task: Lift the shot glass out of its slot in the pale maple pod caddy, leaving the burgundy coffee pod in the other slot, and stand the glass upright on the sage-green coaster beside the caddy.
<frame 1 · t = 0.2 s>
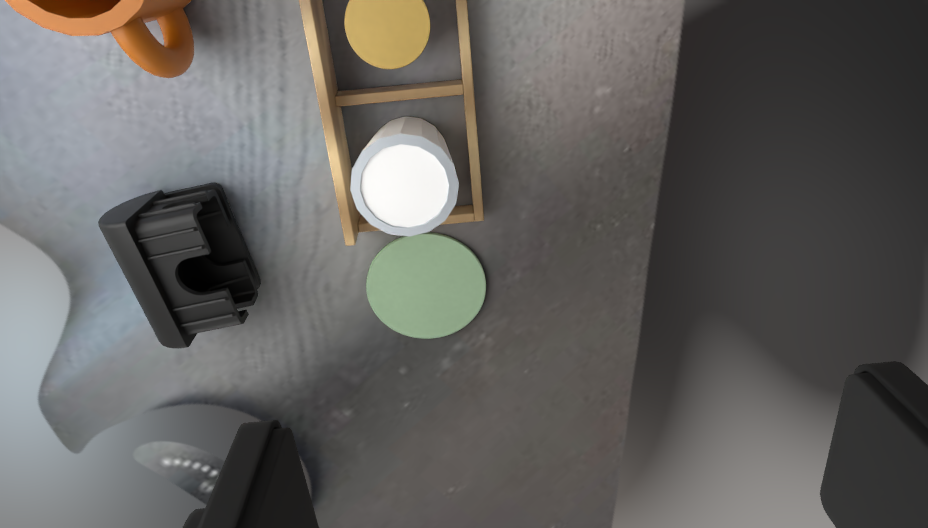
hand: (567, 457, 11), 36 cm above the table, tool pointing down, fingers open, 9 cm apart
pod caddy: (400, 90, 44), on the table
end cap: (199, 243, 48), on the table
coffee pod: (391, 18, 41), resting in pod caddy
shot glass: (409, 153, 46), resting in pod caddy
coaster: (426, 286, 51), on the table
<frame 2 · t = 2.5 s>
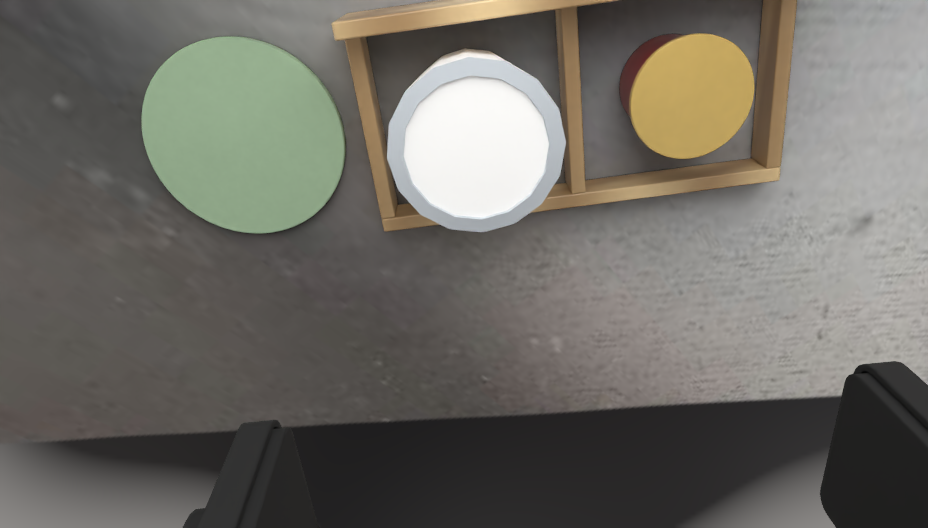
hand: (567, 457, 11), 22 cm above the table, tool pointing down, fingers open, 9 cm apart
pod caddy: (567, 96, 30), on the table
coffee pod: (665, 82, 30), resting in pod caddy
shot glass: (470, 108, 30), resting in pod caddy
coaster: (246, 140, 31), on the table
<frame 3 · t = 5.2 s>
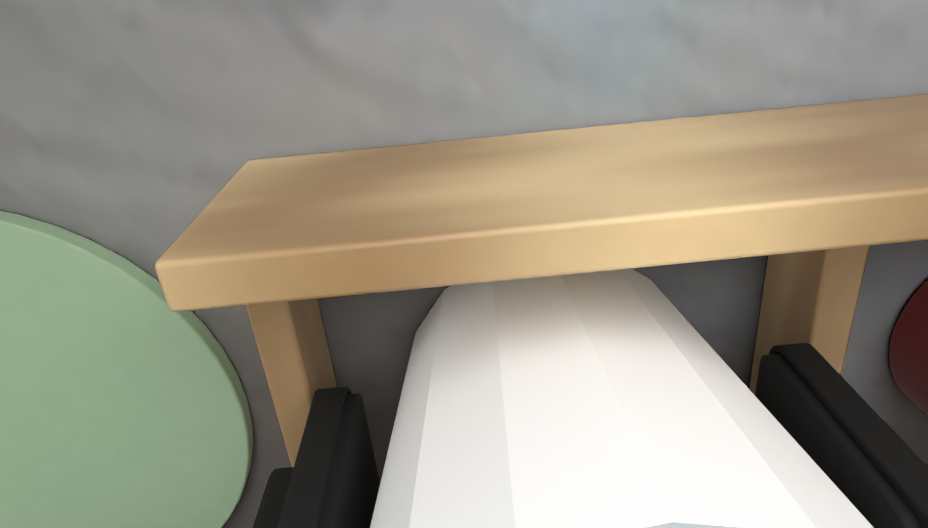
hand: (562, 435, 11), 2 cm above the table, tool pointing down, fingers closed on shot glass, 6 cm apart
pod caddy: (770, 347, 13), on the table
shot glass: (543, 363, 13), resting in pod caddy, touching gripper
coaster: (18, 419, 13), on the table
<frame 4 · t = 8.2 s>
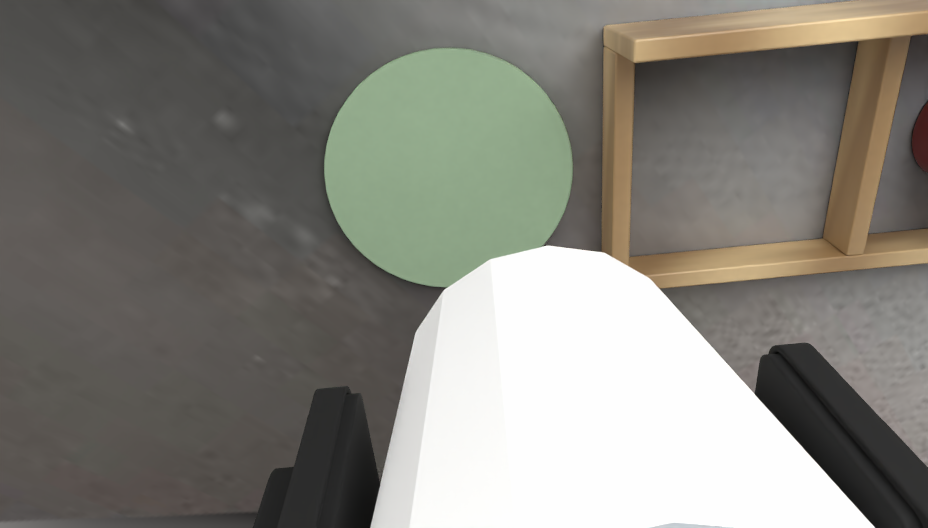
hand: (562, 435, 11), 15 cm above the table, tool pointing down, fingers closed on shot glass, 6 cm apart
pod caddy: (849, 136, 24), on the table
shot glass: (544, 363, 13), point 13 cm above the table, touching gripper
coaster: (449, 175, 25), on the table
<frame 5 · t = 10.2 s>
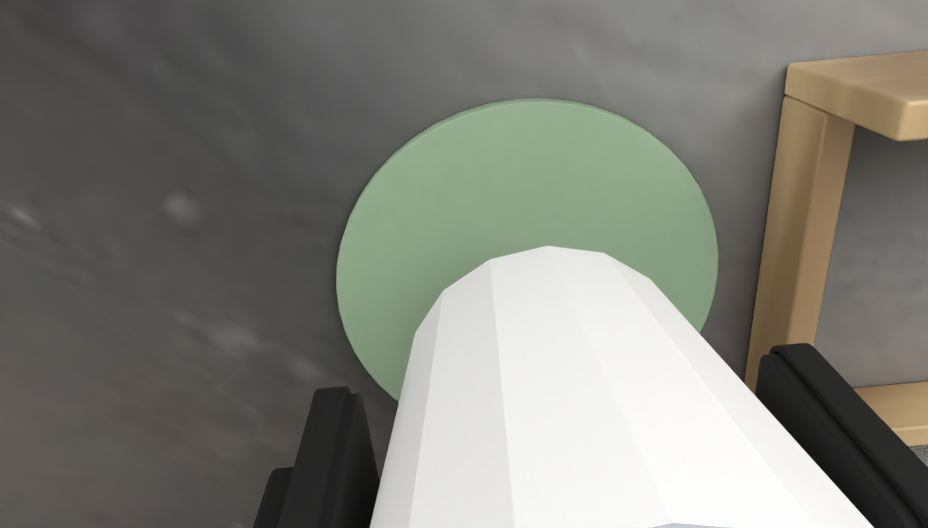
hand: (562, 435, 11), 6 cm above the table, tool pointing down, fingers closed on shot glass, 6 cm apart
shot glass: (543, 363, 13), point 3 cm above the table, touching gripper
coaster: (526, 286, 16), on the table
when the fingers open (2 cm above the table, at t = 11.6 s): shot glass stays where it is, resting on coaster.
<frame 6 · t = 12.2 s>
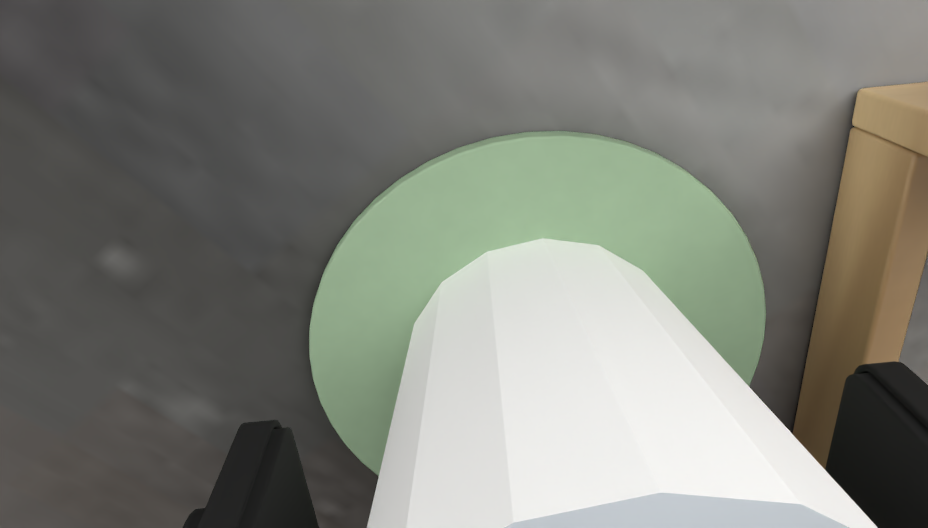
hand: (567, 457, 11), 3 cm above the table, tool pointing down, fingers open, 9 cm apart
shot glass: (539, 354, 13), resting on coaster
coaster: (535, 348, 14), on the table
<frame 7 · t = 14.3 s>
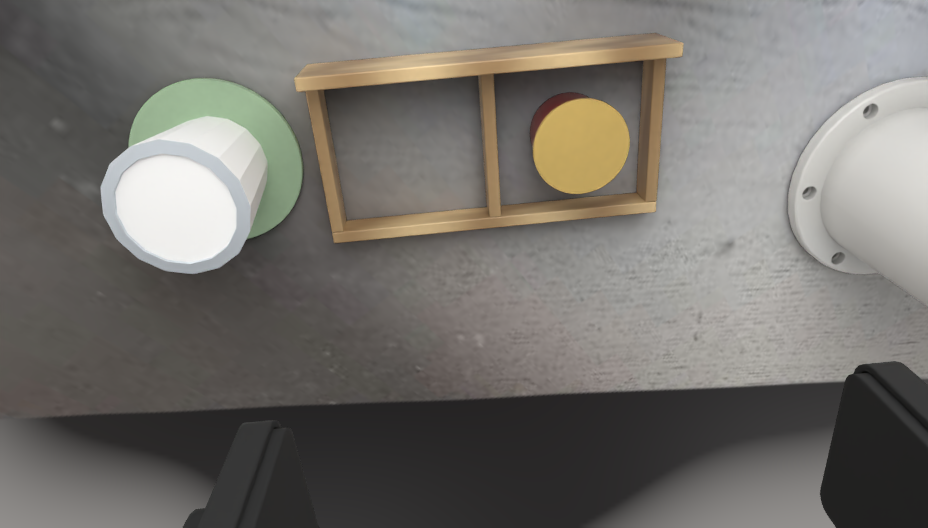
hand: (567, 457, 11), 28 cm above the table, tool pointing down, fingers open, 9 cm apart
pod caddy: (488, 137, 37), on the table
coffee pod: (566, 130, 37), resting in pod caddy
shot glass: (218, 163, 36), resting on coaster
coaster: (218, 162, 36), on the table
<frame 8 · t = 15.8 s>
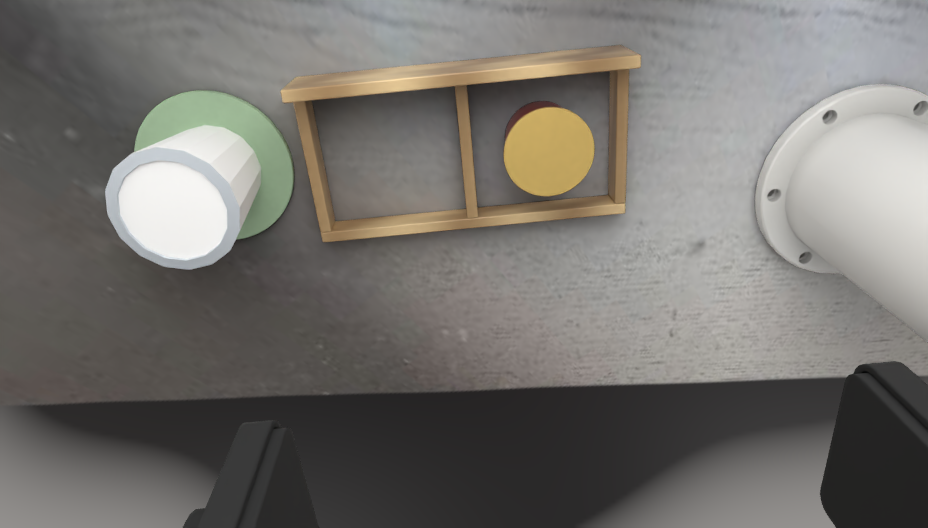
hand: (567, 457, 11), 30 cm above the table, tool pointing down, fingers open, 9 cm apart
pod caddy: (465, 143, 39), on the table
coffee pod: (539, 136, 39), resting in pod caddy
shot glass: (216, 169, 39), resting on coaster
coaster: (216, 168, 39), on the table
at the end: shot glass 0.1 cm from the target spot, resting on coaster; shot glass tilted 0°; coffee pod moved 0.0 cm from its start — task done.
